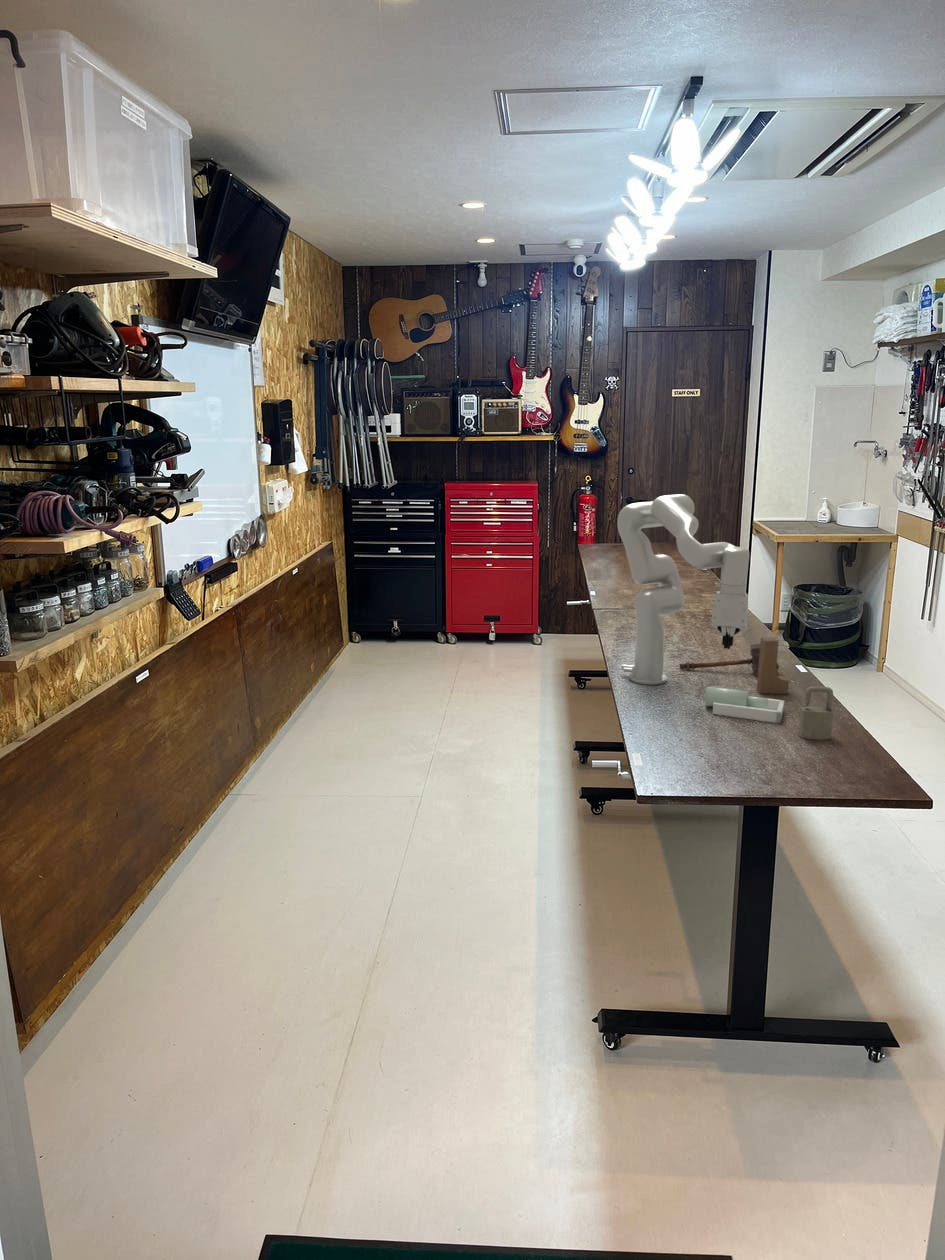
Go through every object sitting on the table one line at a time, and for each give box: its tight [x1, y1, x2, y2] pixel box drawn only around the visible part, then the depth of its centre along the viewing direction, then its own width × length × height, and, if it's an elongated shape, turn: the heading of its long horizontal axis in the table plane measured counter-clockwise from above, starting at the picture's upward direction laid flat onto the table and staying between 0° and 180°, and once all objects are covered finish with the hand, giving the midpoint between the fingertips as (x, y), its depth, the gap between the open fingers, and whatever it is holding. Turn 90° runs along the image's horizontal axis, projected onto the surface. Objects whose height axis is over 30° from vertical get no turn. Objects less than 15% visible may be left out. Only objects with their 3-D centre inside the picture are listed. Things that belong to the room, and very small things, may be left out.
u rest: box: [712, 698, 785, 724], centre depth 275 cm, size 20×11×3 cm, turn 67°
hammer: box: [679, 643, 780, 676], centre depth 314 cm, size 7×33×10 cm, turn 79°
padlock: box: [798, 685, 834, 740], centre depth 254 cm, size 4×8×15 cm, turn 83°
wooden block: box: [756, 636, 790, 695], centre depth 292 cm, size 9×4×18 cm, turn 91°
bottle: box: [704, 685, 769, 708], centre depth 277 cm, size 6×6×18 cm
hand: (727, 647), depth 273 cm, fingers closed
